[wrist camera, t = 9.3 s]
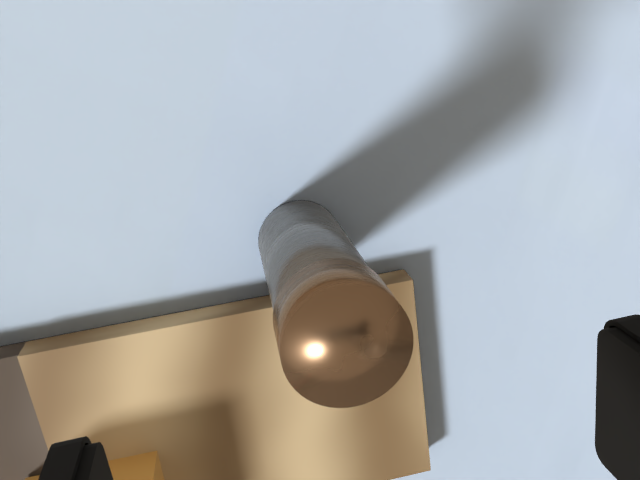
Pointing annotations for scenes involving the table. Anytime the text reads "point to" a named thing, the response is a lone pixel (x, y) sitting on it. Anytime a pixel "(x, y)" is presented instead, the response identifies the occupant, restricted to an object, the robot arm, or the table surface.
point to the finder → (133, 468)
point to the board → (204, 401)
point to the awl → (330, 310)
